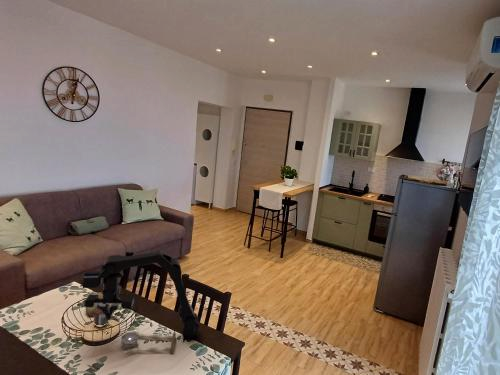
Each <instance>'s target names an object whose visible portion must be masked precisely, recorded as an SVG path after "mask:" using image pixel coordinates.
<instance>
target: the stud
mask: <svg viewBox="0 0 500 375" xmlns="http://www.w3.org/2000/svg"><path fill="white" fill-rule="evenodd" d="M120 342H121V344H122V345H123V348H124V349H126V350H130V349H134V348H135V346H136V343H137V342H139V338H138V334H137V333H134V332H132V331H129V332H126V333H123V335H121V337H120Z"/></svg>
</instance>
